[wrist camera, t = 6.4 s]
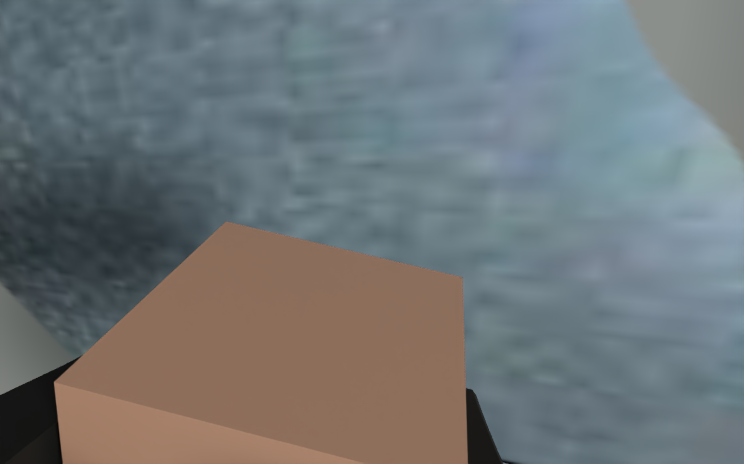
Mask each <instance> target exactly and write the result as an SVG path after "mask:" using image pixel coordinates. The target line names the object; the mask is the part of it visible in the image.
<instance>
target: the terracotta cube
mask: <svg viewBox="0 0 744 464" xmlns="http://www.w3.org/2000/svg"><path fill="white" fill-rule="evenodd" d="M54 387H55V396H56V405H57V414H58V423H59V433H60V442H61V451H62V460H63V464H468V453H467V418H466V382H465V347H464V311H463V277H459V276H455V275H451V274H446V273H442V272H438V271H434V270H429V269H425V268H421V267H417V266H412V265H408V264H404V263H400V262H395V261H391V260H387V259H383V258H378V257H374V256H370V255H366V254H362V253H357V252H353V251H349V250H345V249H340V248H336V247H332V246H328V245H323V244H319V243H315V242H311V241H306V240H302V239H298V238H294V237H290V236H285V235H281V234H277V233H273V232H268V231H264V230H260V229H256V228H251V227H247V226H243V225H239V224H234V223H230V222H225V223H224V224H223V225H222V226H221V227H220V228H219V229H218V230H217V231H215V232H214V233H213V234H212V235H211V236H210V237H209V238H208V239H207V240H206V241H205V242H204V243H203V244H202V245H200V246H199V247H198V248H197V249H196V250H195V251H194V252H193V253H192V254H191V255H190V256H189V257H188V258H187V259H185V260H184V261H183V262H182V263H181V264H180V265H179V266H178V267H177V268H176V269H175V270H174V271H173V272H172V273H170V274H169V275H168V276H167V277H166V278H165V279H164V280H163V281H162V282H161V283H160V284H159V285H158V286H157V287H155V288H154V289H153V290H152V291H151V292H150V293H149V294H148V295H147V296H146V297H145V298H144V299H143V300H142V301H140V302H139V303H138V304H137V305H136V306H135V307H134V308H133V309H132V310H131V311H130V312H129V313H128V314H127V315H125V316H124V317H123V318H122V319H121V320H120V321H119V322H118V323H117V324H116V325H115V326H114V327H113V328H112V329H110V330H109V331H108V332H107V333H106V334H105V335H104V336H103V337H102V338H101V339H100V340H99V341H98V342H97V343H95V344H94V345H93V346H92V347H91V348H90V349H89V350H88V351H87V352H86V353H85V354H84V355H83V356H82V357H80V358H79V359H78V360H77V361H76V362H75V363H74V364H73V365H72V366H71V367H70V368H69V369H68V370H67V371H65V372H64V373H63V374H62V375H61V376H60V377H59V378H58V379H57V380H56V381H55V382H54Z"/></svg>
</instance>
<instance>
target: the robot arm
mask: <svg viewBox="0 0 744 464" xmlns="http://www.w3.org/2000/svg"><path fill="white" fill-rule="evenodd" d="M82 356H83V355H82ZM82 356H80V357H82ZM80 357H78V358H76V359H75V360H73V361H71V362H69V363H67V364H65V365H63V366H61V367H59V368H57V369H55V370H53V371H50V372H48V373H46V374H44V375H42V376H40V377H38V378H36V379H33V380H32V381H30V382H27V383H25V384H23V385H21V386H19V387H16V388H14V389H12V390H10V391H8V392H6V393H4V394H2V395H0V464H63V460H62V451H61V442H60V433H59V423H58V414H57V405H56V396H55V387H54V382H55V381H56V380H57V379H58V378H59V377H60V376H61V375H62V374H63V373H64V372H65V371H67V370H68V369H69V368H70V367H71V366H72V365H73V364H74V363H75V362H76V361H77V360H78V359H79V358H80ZM466 418H467V453H468V464H507V463H503V462H502V460H501V457H500V455H499V453H498V451H497V448H496V446H495V443H494V441H493V439H492V436H491V434H490V431H489V429H488V426H487V424H486V421H485V418H484V416H483V413H482V410H481V408H480V405H479V402H478V399H477V397H476V395H475V393H474V392H473V390H471V389H467V388H466Z"/></svg>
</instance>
